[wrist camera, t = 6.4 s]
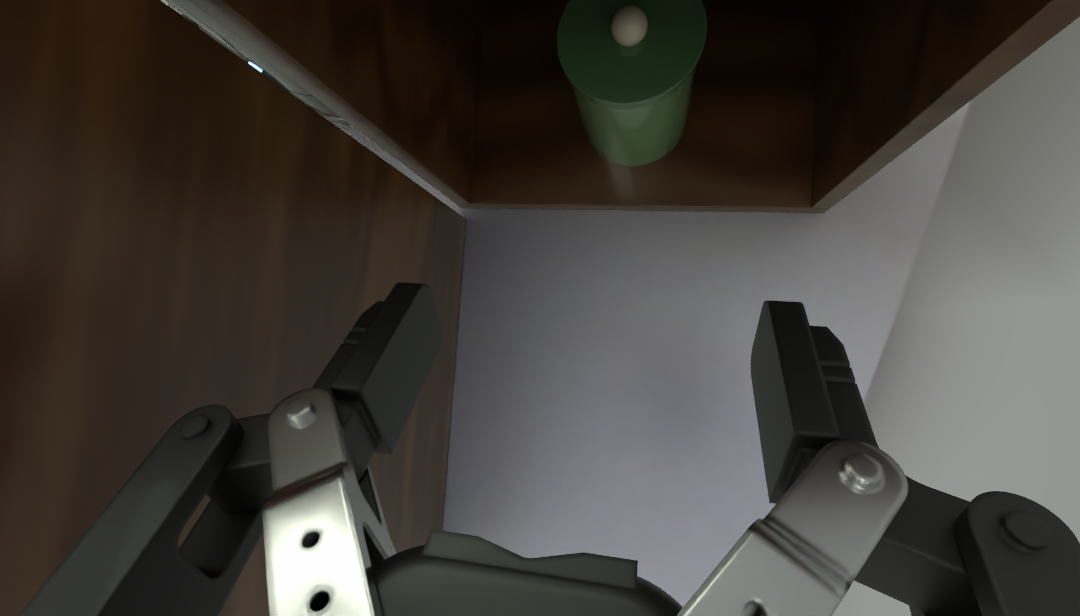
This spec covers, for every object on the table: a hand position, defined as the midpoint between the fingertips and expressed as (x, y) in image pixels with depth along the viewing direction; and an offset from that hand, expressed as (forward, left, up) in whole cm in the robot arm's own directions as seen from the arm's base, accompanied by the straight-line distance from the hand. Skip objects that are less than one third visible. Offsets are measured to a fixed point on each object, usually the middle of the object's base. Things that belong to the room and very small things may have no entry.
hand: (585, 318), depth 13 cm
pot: (0, +13, -18) cm, 23 cm away
